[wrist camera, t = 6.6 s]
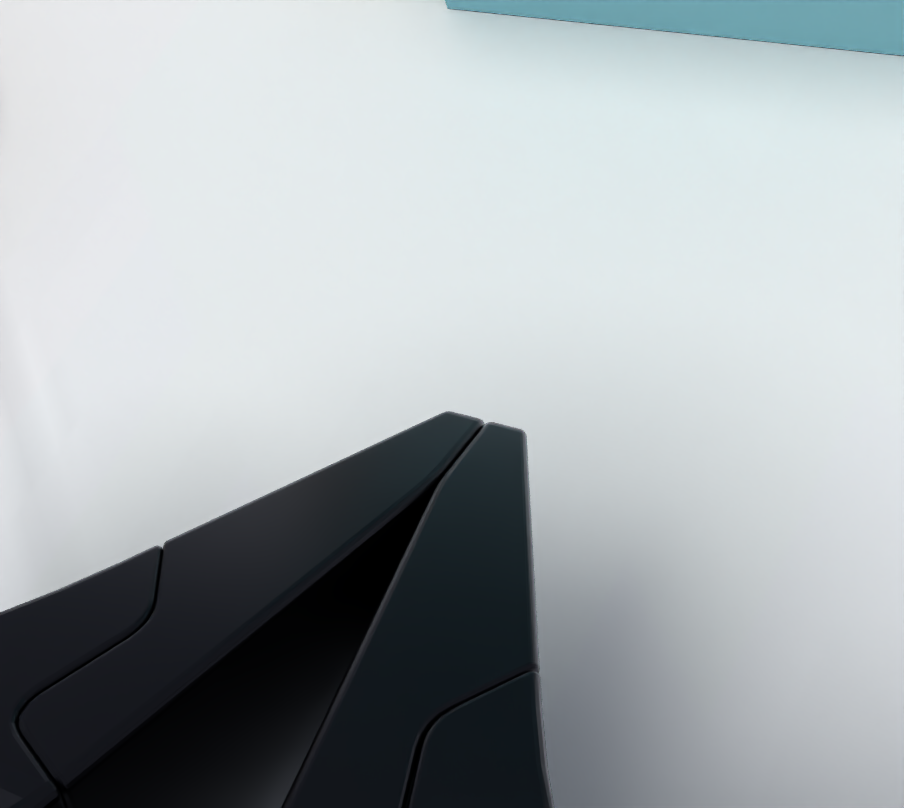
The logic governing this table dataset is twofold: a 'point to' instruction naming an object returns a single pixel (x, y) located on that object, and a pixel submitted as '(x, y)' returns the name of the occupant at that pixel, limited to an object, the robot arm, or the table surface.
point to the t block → (731, 18)
